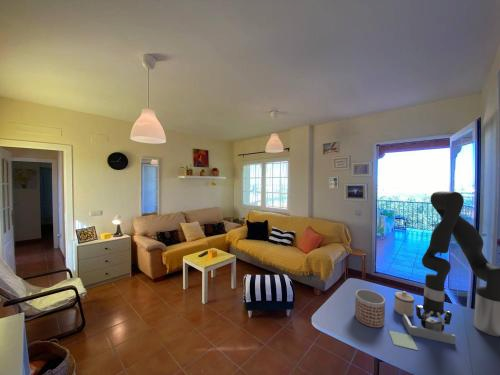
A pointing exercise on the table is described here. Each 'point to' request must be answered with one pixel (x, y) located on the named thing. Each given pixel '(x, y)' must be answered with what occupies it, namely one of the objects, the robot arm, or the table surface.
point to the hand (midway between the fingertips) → (432, 328)
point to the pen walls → (428, 332)
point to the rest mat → (403, 340)
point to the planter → (370, 308)
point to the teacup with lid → (404, 303)
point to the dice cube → (433, 324)
